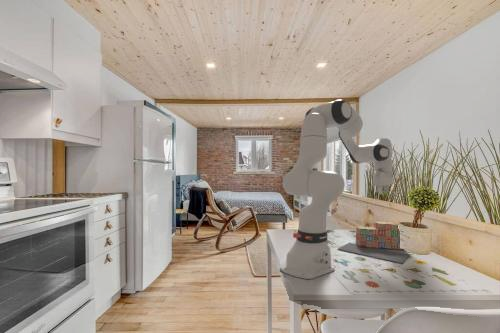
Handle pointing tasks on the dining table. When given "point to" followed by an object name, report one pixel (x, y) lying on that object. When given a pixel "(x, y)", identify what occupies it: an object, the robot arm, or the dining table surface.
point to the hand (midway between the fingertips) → (383, 193)
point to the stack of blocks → (379, 235)
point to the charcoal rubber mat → (375, 253)
